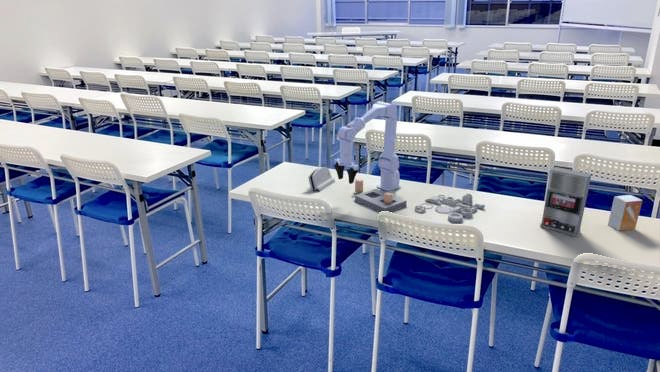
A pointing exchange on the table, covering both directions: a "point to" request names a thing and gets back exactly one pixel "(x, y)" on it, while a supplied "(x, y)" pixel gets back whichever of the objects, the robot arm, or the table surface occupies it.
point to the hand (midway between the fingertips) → (345, 181)
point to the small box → (624, 212)
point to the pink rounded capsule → (358, 185)
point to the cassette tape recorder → (565, 200)
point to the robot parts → (455, 214)
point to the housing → (379, 200)
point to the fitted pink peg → (388, 198)
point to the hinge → (320, 179)
